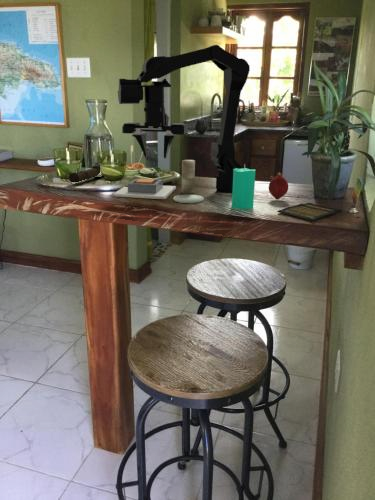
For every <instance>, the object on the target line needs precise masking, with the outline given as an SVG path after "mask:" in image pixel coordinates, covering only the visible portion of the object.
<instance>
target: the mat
mask: <svg viewBox="0 0 375 500" xmlns="http://www.w3.org/2000/svg"><path fill="white" fill-rule="evenodd" d="M173 201H174V202H176V203H180V204H198V203H203V202H204V201H205V197H204V196H203V195H202V196H201V195H199V194H198V195H197V194H177V195H174V196H173Z"/></svg>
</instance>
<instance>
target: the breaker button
mask: <svg viewBox="0 0 375 500" xmlns="http://www.w3.org/2000/svg"><path fill="white" fill-rule="evenodd" d="M138 179H139V180H137V181H136V183H141V184H154V183H155V179H156V178H155V179H154V178H138Z"/></svg>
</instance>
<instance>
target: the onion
mask: <svg viewBox="0 0 375 500" xmlns="http://www.w3.org/2000/svg"><path fill="white" fill-rule="evenodd" d="M268 192H269V193H270V195H271V196H272V197H273V198H275V200H280V199H281V198H283V197H285V196H286V195H287V193H288V192H289V183H288V180H287V179H286V178H285V177H284V176H283V175H282V173H281V172H278V173H277V175H275V176H274V177H273V178H272V179H271V180H270V182H269V184H268Z"/></svg>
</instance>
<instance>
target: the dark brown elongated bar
mask: <svg viewBox="0 0 375 500" xmlns="http://www.w3.org/2000/svg"><path fill="white" fill-rule="evenodd" d="M99 173H100V165H99V164H96V165H92V168H89V169H86V170H83V171H82V170H81V171H77V172H71V173H69V174H68V181H71V182H79V181H81V182H83V181H82V180H84V181H86V180H85V179H87V180H91V179H93V178H92V177H95V176H97V175H98V174H99ZM90 178H91V179H90Z"/></svg>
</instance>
